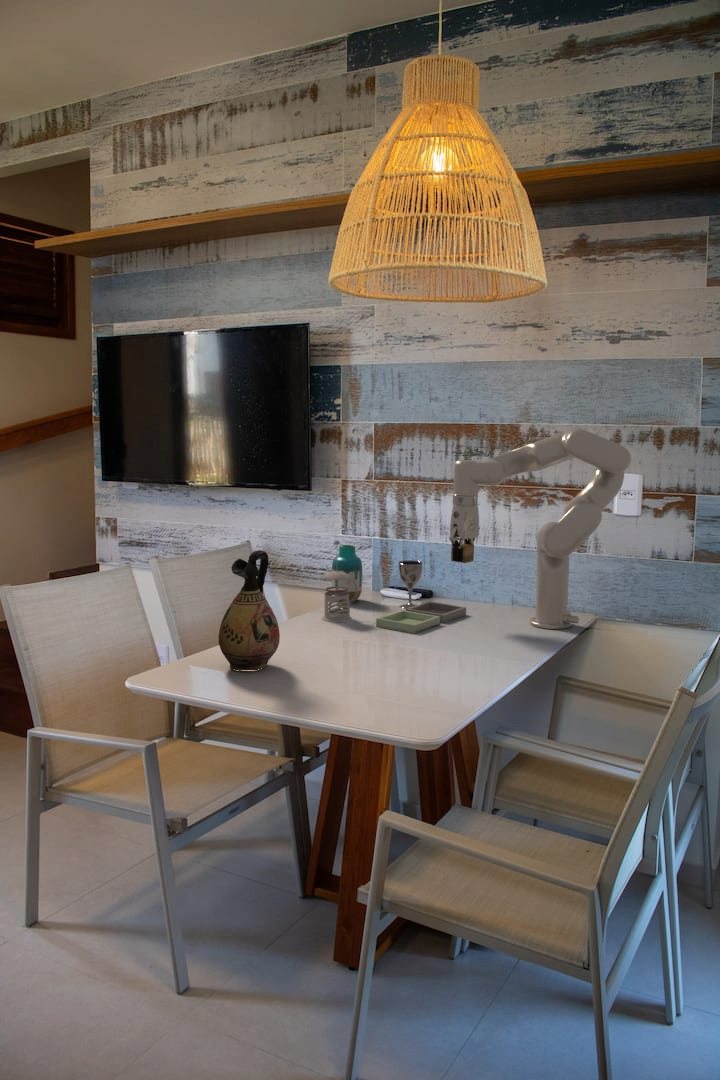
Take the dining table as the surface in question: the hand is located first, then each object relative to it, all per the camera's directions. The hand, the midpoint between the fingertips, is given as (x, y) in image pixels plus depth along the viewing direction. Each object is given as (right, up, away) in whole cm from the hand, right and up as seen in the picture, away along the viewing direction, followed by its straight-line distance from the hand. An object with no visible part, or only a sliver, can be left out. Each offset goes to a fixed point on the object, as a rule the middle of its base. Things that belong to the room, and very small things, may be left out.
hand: (462, 559), depth 266 cm
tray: (-17, -20, -1) cm, 26 cm away
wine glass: (-15, -17, +25) cm, 33 cm away
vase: (-36, -15, +33) cm, 51 cm away
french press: (-38, -19, +8) cm, 43 cm away
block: (0, -1, 0) cm, 1 cm away
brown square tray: (-7, -18, +12) cm, 23 cm away
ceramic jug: (-59, -27, -43) cm, 78 cm away
